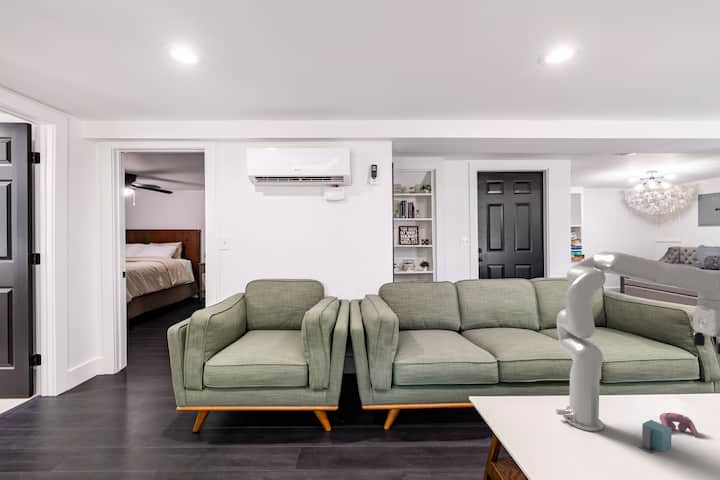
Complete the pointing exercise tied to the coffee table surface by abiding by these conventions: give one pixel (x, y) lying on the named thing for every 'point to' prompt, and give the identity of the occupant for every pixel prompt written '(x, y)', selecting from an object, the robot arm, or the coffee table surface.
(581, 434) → the coffee table surface
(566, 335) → the robot arm
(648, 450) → the post
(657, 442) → the teal block
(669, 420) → the video game controller
